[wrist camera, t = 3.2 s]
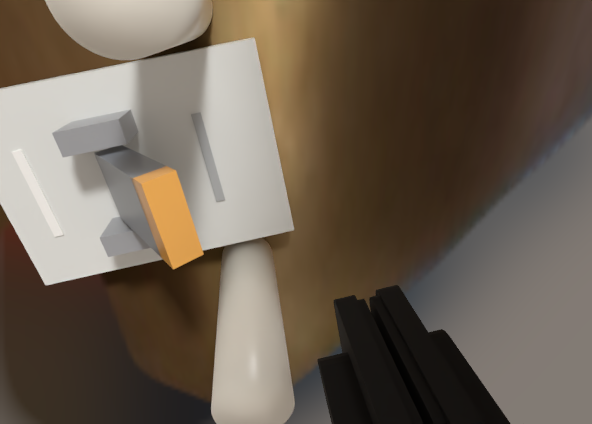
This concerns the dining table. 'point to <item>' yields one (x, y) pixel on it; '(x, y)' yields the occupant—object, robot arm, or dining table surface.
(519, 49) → the dining table surface
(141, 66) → the panel
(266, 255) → the post
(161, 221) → the paddle
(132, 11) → the post
